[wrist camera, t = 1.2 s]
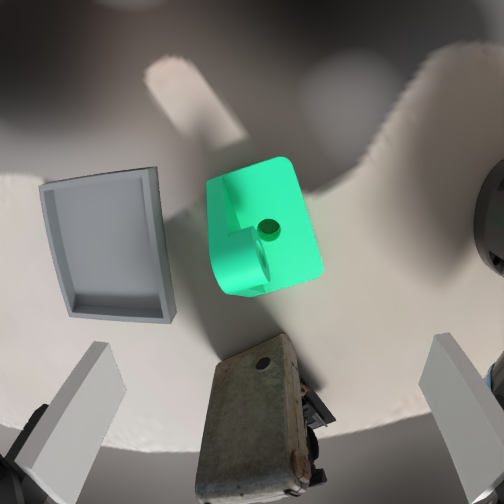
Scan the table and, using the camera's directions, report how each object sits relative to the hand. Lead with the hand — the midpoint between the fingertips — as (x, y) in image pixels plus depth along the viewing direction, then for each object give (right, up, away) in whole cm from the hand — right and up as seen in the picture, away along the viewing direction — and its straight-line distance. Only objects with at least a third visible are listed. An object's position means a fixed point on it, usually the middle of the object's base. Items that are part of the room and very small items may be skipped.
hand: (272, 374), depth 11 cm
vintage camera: (+3, -12, +27) cm, 30 cm away
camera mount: (+1, +8, +20) cm, 21 cm away
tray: (-17, +5, +21) cm, 28 cm away
